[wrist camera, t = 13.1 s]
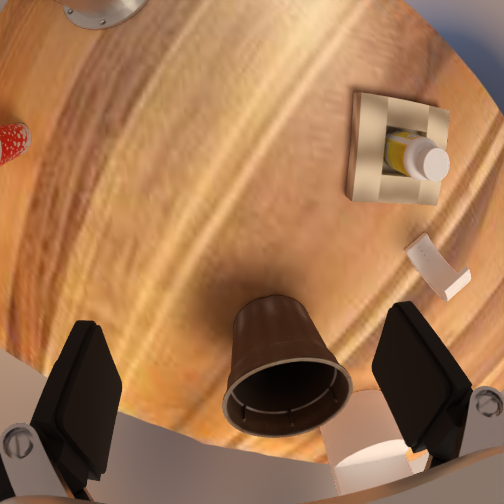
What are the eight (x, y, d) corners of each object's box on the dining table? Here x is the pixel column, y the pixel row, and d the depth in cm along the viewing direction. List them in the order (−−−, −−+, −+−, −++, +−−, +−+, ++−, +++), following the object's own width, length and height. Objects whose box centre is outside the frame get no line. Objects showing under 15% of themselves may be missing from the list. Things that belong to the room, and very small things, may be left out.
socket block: (353, 92, 36) (361, 92, 34) (439, 109, 37) (449, 110, 35) (345, 195, 42) (352, 201, 40) (427, 200, 43) (436, 205, 41)
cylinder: (372, 428, 70) (405, 518, 45) (309, 435, 68) (334, 537, 43) (400, 385, 63) (448, 486, 38) (331, 392, 60) (369, 513, 35)
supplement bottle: (393, 176, 41) (432, 197, 32) (371, 146, 39) (409, 161, 30) (418, 151, 40) (460, 167, 31) (398, 121, 38) (440, 131, 29)
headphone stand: (424, 231, 46) (469, 268, 35) (437, 256, 48) (478, 294, 37) (403, 250, 47) (444, 291, 36) (417, 273, 49) (455, 315, 38)
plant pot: (245, 266, 45) (257, 345, 31) (339, 298, 50) (377, 372, 35) (206, 346, 52) (204, 427, 37) (291, 368, 56) (310, 442, 41)
